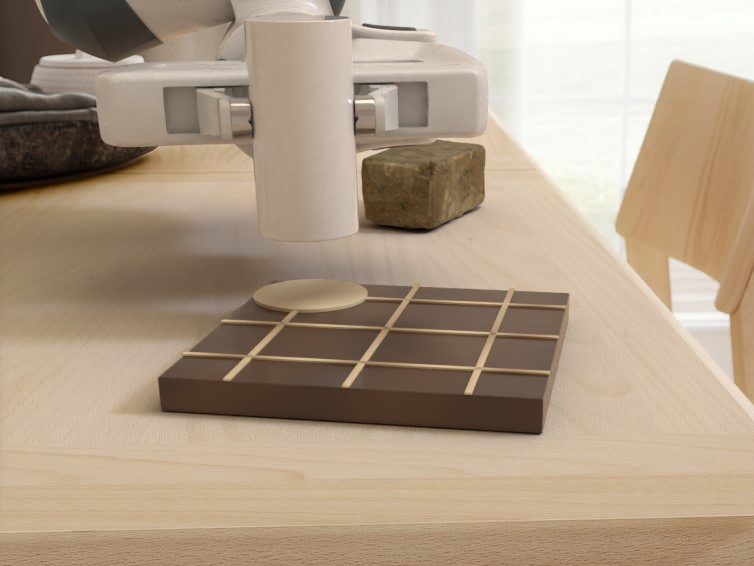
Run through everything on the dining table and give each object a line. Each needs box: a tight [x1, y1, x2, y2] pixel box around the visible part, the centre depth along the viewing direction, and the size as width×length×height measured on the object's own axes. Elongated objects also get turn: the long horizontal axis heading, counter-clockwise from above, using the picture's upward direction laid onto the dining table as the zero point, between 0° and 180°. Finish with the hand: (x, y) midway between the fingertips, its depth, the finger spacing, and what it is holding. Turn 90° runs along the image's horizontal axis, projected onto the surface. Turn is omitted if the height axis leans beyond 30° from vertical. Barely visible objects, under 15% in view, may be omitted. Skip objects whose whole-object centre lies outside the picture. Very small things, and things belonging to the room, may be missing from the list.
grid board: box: [157, 278, 570, 434], centre depth 55 cm, size 16×16×2 cm
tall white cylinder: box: [244, 15, 360, 243], centre depth 57 cm, size 5×5×10 cm
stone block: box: [360, 138, 487, 230], centre depth 85 cm, size 6×12×5 cm, turn 159°
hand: (304, 119), depth 56 cm, fingers closed on tall white cylinder, 5 cm apart
